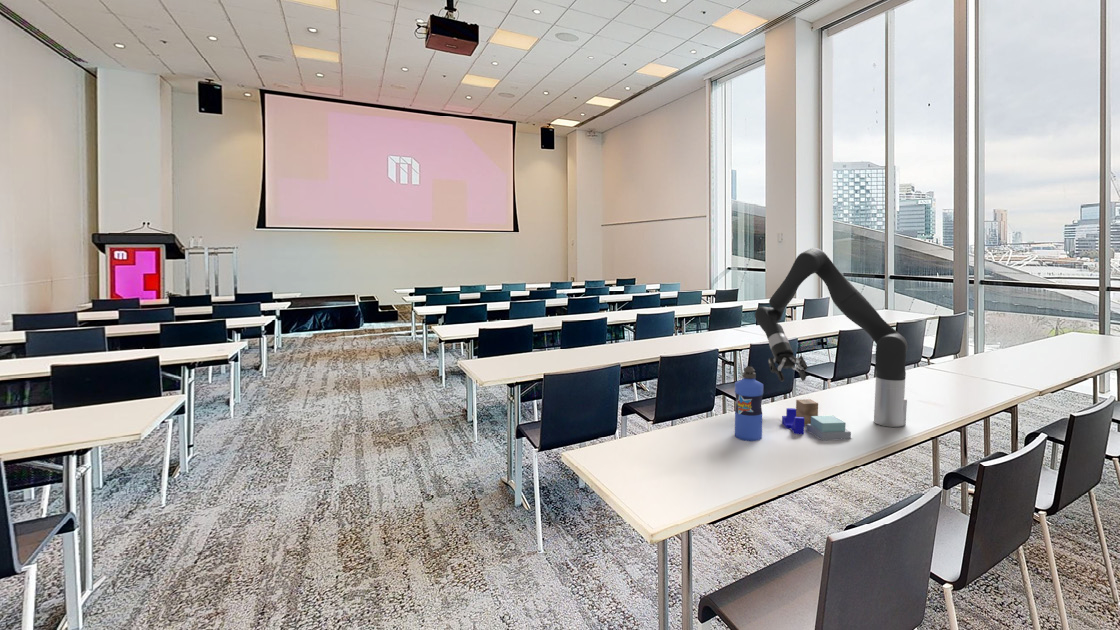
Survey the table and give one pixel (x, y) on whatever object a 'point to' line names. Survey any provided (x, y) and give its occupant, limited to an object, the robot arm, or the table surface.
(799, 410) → the walnut block
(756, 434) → the water bottle
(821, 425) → the teal top slab
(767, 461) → the table surface
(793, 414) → the cable clip
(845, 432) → the slate base slab
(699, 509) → the table surface
